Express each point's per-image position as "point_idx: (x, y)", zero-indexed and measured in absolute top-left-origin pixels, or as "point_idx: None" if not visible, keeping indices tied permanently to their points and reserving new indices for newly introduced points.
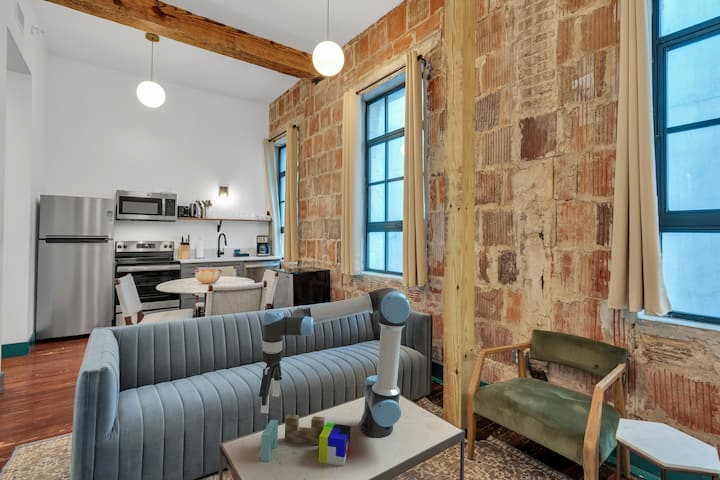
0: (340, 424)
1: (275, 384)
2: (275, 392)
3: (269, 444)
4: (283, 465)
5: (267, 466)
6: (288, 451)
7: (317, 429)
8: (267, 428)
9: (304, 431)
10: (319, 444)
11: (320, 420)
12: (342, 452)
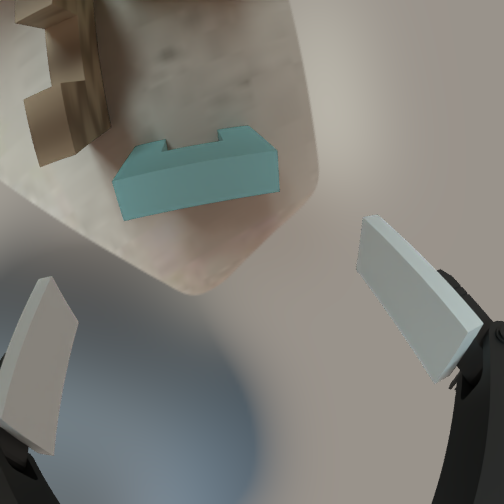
0: None
1: (39, 404)
2: (56, 330)
3: (256, 139)
4: (257, 62)
5: (275, 116)
6: (167, 79)
7: None
8: (213, 191)
9: (80, 44)
10: None
11: None
12: None
